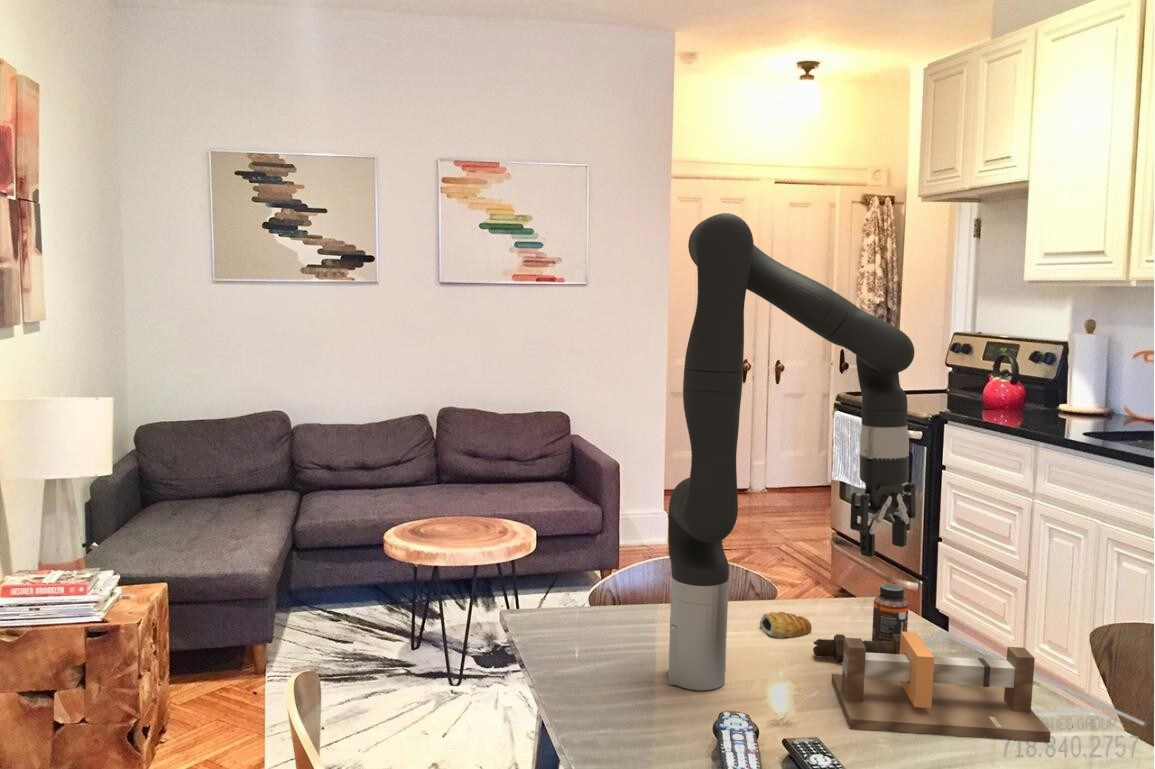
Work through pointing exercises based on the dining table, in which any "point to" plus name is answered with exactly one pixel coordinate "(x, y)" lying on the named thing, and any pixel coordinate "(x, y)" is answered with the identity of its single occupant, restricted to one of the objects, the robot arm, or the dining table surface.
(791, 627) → the pastry
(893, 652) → the bolt
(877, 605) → the supplement bottle
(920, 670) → the collar
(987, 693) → the pipe stand
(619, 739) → the dining table surface
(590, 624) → the dining table surface
